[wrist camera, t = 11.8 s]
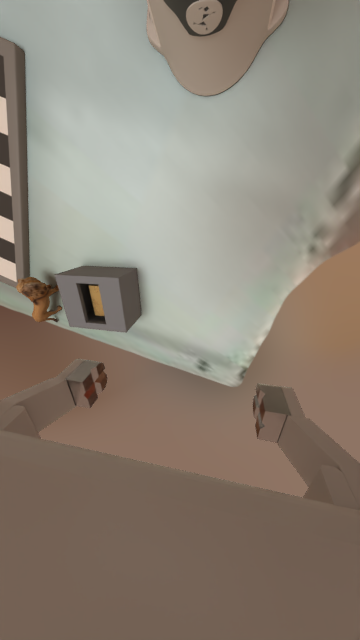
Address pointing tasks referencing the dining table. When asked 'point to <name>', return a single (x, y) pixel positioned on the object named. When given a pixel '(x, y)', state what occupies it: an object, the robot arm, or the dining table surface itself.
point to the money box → (115, 295)
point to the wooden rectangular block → (96, 299)
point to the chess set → (13, 166)
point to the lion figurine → (38, 297)
